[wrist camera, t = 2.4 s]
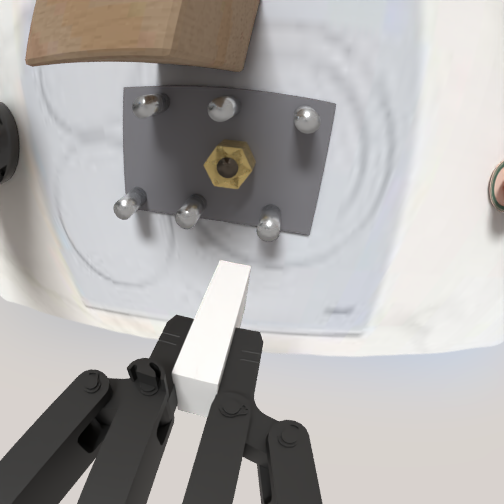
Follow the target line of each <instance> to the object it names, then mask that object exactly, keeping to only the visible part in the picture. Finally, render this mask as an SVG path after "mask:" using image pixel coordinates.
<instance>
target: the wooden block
mask: <svg viewBox="0 0 504 504" xmlns="http://www.w3.org/2000/svg"><path fill="white" fill-rule="evenodd" d="M259 2H260V0H36V4H35V9H34V13H33V17H32V22H31V27H30V32H29V38H28V44H27V51H26V59H25V61H26V64H27V65H30V66H40V65H49V64H60V63H74V62H105V61H113V62H145V63H161V64H176V65H188V66H197V67H206V68H214V69H221V70H228V71H234V72H240V71H242V70H243V68H244V63H245V59H246V55H247V50H248V46H249V42H250V38H251V34H252V29H253V25H254V21H255V17H256V13H257V10H258V6H259Z"/></svg>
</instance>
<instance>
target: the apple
mask: <svg viewBox="0 0 504 504" xmlns="http://www.w3.org/2000/svg"><path fill="white" fill-rule="evenodd" d="M489 192H490V199H491V202H492V204H493V206H494V207H495V208H496V209H497V210H499V211H501V212H504V160H503V161H502V162H500V163H499V164H498V166H497V167H496V169H495V170H494V172H493V174H492V177H491V181H490V188H489Z"/></svg>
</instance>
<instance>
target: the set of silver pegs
mask: <svg viewBox="0 0 504 504" xmlns="http://www.w3.org/2000/svg"><path fill="white" fill-rule="evenodd" d="M169 106H170V99H169V97H168V96H167V95H166V94H165V93H156V94H149V95H143V96H139V97H137V98H136V99H135V100H134V102H133V105H132V110H133V113H134V114H135V115H136V116H137V117H138V118H146V117H150V116H153V115H156V114H159V113H163V112H165V111H166V110H167V109H168V108H169ZM240 109H241V103H240V101H239V99H238V98H236V97H235V96H231V95H229V96H223V97H218V98H215V99H213V100H212V101H211V102H210V103H209V105H208V114H209V116H210V117H211V119H213V120H214V121H217V122H224V121H226V120H228V119H230V118H231V117H233V116H235V115H236V114H238V113H239V111H240ZM320 122H321V120H320V116H319V115H318V113H317V112H316V111H315V110H314V109H313V108H312V107H310V106H307V105H302V106H299V107H298V108H297V109H296V110H295V112H294V123H295V126H296V128H297V129H298V130H299V131H300V132H302V133H307V134H309V133H313V132H315V131H316V130H317V129H318V128H319V126H320ZM146 200H147V194H146V192H145V191H144V190H143V189H142V188H140V187H135V188H133V189H132V190H131V191H130V192H128V193H127V194H126V195H125V196H123V197H122V198H121V199H120V200H119V201H117V202H116V203H115V205H114V212H115V214H116V216H117V217H118V218H120V219H122V220H126V219H128V218H129V217H130V216H131V215H132V214H133V213H134V212H135V211H136V210H137V209H138V208H139V207H141V206H142V205H143V204H144V203H145V202H146ZM206 206H207V202H206V199H205V198H204V197H203V196H202V195H200V194H193V195H191V196H190V197H189V198H188V199H187V201H186V202H185V203H184V204H183V206H182V207H181V208H180V209H179V211H178V212H177V213H176V216H175V220H176V222H177V224H178V225H179V226H180V227H182V228H184V229H190V228H192V227H194V225H195V224H196V222H197V221H198V219H199V218H200V216H201V214H202V213H203V211H204V210H205V208H206ZM280 223H281V210H280V209H279V207H277V206H276V205H273V204H269V205H266V206H264V207H263V208H262V210H261V214H260V219H259V223H258V227H257V235H258V236H259V238H260V239H262V240H263V241H267V242H271V241H274V240H276V239H277V238H278V236H279V234H280Z"/></svg>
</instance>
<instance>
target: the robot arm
mask: <svg viewBox="0 0 504 504" xmlns="http://www.w3.org/2000/svg"><path fill="white" fill-rule="evenodd" d="M18 156H19V139H18V132H17V127H16V124H15V121H14V118H13V116H12V114H11V112H10V110H9V109H8V107H7V106H6V105H5V104H3V103H2V102H0V184H2V183H4V182H5V181H7V180H8V179H10V178H11V177H12V175H13V174H14V172H15V169H16V166H17V162H18ZM250 270H251V266H248V265H243V264H237V263H232V262H227V261H222V260H220V261H219V264H218V266H217V268H216V270H215V273H214V275H213V277H212V279H211V282H210V284H209V286H208V289H207V291H206V293H205V295H204V298H203V300H202V302H201V305H200V307H199V309H198V312H197V314H196V316H195V319H192V318H188V317H184V316H180V315H175V316H174V317H173V318H172V319H171V320H169V321H168V322H167V324H166V326H165V328H164V330H163V333H162V334H161V336H160V338H159V341H158V342H157V344H156V346H155V348H154V350H153V352H152V354H151V356H150V358H149V359H148V358H142V359H137V360H135V361H133V362H132V363H131V364H130V365H129V366H128V367H127V370H128V373H129V376H130V378H129V379H112V378H107V376H106V375H105V374H104V373H103V372H100V371H98V370H88V371H84V372H83V373H82V374H80V375H79V376H78V377H77V378H76V379H75V380H74V381H73V382H72V383H71V384H70V385H69V387H68V388H67V389H66V390H65V391H64V392H63V393H62V394H61V395H60V396H59V397H58V398H57V399H56V400H55V401H54V402H53V403H52V404H51V406H49V408H48V409H47V410H46V411H45V412H44V413H43V414H42V415H41V416H40V417H39V418H38V419H37V421H36V422H35V423H34V424H33V425H32V426H31V427H30V428H29V429H28V430H27V431H26V433H25V434H24V435H23V436H22V437H21V438H20V439H19V440H18V442H17V443H16V444H15V445H14V446H13V447H12V448H11V449H10V451H9V452H8V453H7V454H6V455H5V456H4V457H3V458H2V460H1V461H0V504H59V503H60V501H61V500H62V499H63V498H64V496H65V495H66V494H67V493H68V491H69V490H70V489H71V488H72V487H73V485H74V484H75V483H76V482H77V480H78V479H79V478H80V477H81V475H82V474H83V473H84V472H85V470H86V469H87V468H88V467H89V465H90V464H91V463H92V462H93V461H94V459H95V458H96V460H95V462H94V464H93V466H92V469H91V471H90V473H89V476H88V478H87V481H86V483H85V485H84V488H83V490H82V493H81V495H80V498H79V500H78V503H77V504H146V503H147V500H148V497H149V494H150V491H151V488H152V485H153V482H154V479H155V476H156V473H157V470H158V467H159V464H160V461H161V458H162V455H163V452H164V450H165V446H166V444H167V441H168V438H169V435H170V432H171V429H172V426H173V423H174V412H175V409H176V406H178V409H179V410H181V411H185V412H189V413H193V414H197V415H201V416H205V417H207V421H206V424H205V427H204V431H203V434H202V438H201V442H200V445H199V448H198V452H197V455H196V459H195V462H194V465H193V469H192V472H191V476H190V479H189V483H188V486H187V489H186V493H185V496H184V500H183V503H182V504H232V502H233V498H234V494H235V489H236V484H237V480H238V475H239V470H240V466H241V461H242V456H243V457H245V458H246V459H248V460H250V461H252V462H254V463H257V468H258V477H259V487H260V496H261V504H322V499H321V494H320V489H319V484H318V479H317V473H316V469H315V464H314V459H313V453H312V449H311V444H310V439H309V434H308V432H307V430H306V428H305V427H304V426H302V425H301V424H300V423H298V422H296V421H292V420H284V421H277V420H275V419H273V418H271V417H268V416H267V415H265V414H263V413H262V412H261V411H260V410H259V409H258V408H257V406H256V404H255V401H254V392H255V386H256V381H257V375H258V370H259V363H260V358H261V353H262V347H263V340H262V337H261V334H260V332H256V331H251V330H246V329H241V328H240V325H241V321H242V318H243V314H244V310H245V304H246V297H247V291H248V284H249V277H250Z"/></svg>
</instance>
